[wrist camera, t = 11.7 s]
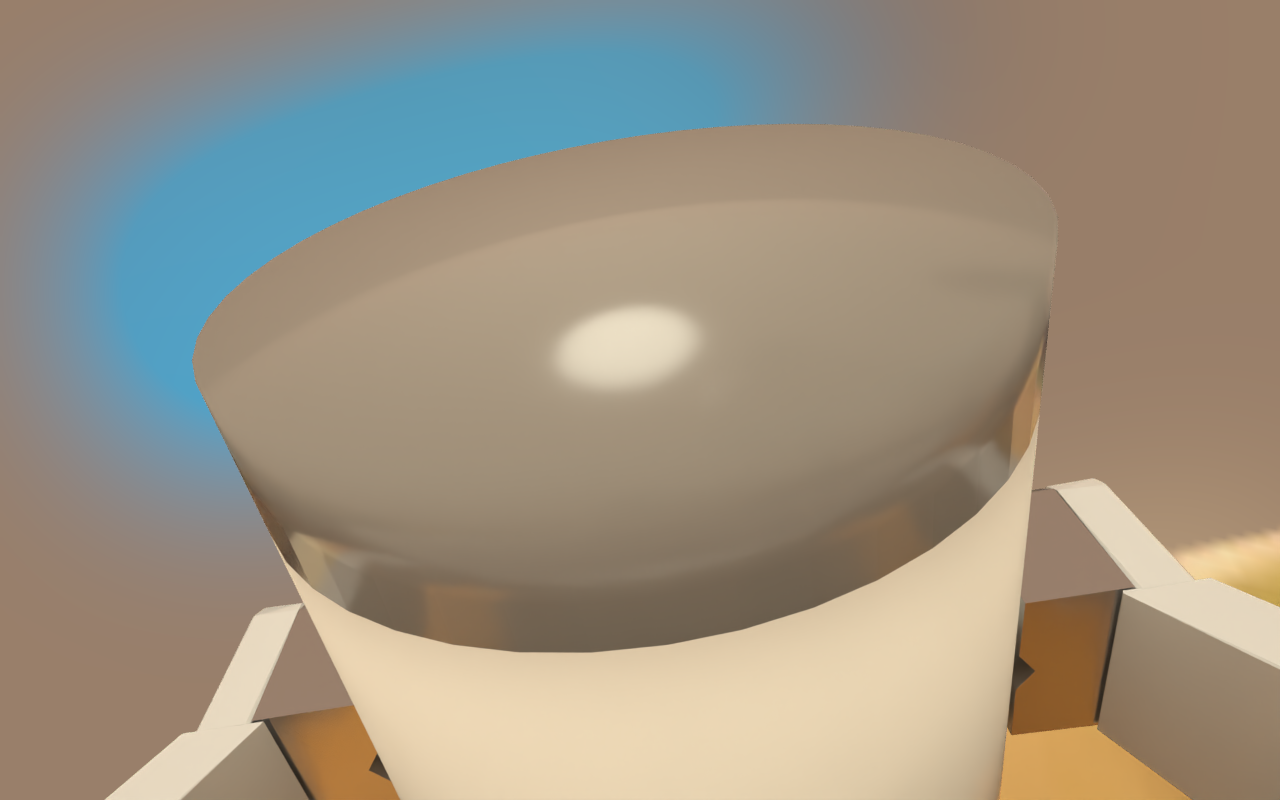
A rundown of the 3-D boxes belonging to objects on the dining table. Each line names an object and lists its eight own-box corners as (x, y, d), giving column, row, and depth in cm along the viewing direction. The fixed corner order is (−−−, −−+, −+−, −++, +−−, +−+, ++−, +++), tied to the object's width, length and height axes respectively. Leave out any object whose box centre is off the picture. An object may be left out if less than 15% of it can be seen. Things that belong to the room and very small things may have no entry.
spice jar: (889, 718, 14) (887, 93, 9) (1072, 1203, 8) (1324, 341, 4) (534, 770, 14) (332, 187, 9) (500, 1274, 9) (-30, 555, 4)
